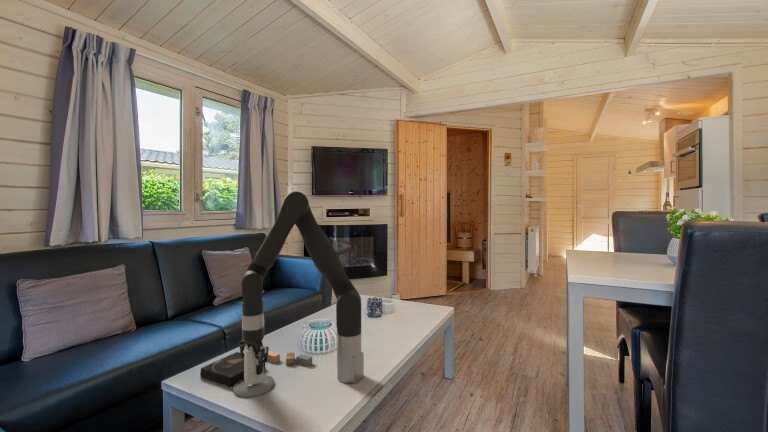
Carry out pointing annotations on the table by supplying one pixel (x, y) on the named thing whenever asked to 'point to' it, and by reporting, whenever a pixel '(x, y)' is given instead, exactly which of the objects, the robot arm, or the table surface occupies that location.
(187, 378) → the table surface
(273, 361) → the terracotta brick
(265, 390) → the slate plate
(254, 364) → the skincare box
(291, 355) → the tan brick
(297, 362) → the gray brick
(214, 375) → the portable cd player
